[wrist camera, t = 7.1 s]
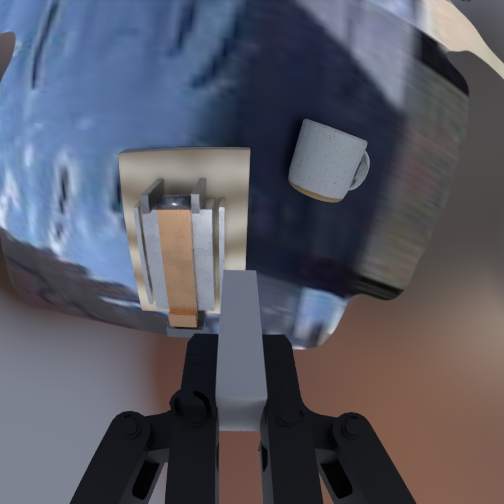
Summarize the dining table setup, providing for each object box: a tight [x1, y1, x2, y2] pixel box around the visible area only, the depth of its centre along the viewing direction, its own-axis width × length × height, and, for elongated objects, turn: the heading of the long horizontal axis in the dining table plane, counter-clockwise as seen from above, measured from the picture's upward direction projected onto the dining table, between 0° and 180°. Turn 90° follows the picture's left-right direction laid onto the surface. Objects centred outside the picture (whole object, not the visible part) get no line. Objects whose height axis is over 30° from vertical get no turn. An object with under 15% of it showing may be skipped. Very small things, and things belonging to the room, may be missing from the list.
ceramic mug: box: [289, 119, 370, 202], centre depth 30 cm, size 11×8×8 cm
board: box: [118, 147, 250, 314], centre depth 37 cm, size 24×16×2 cm, turn 177°
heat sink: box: [133, 178, 226, 338], centre depth 34 cm, size 20×11×6 cm, turn 177°
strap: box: [156, 195, 198, 327], centre depth 32 cm, size 17×4×2 cm, turn 177°
